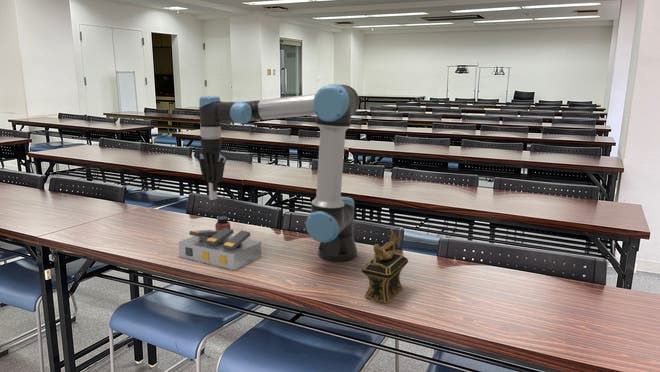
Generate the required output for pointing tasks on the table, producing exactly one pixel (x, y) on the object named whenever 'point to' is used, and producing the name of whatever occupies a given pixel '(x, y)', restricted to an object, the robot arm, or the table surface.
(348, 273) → the table surface
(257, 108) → the robot arm
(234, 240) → the switch
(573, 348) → the table surface
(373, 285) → the decorative box
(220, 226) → the supplement bottle
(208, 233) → the switch
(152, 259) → the table surface
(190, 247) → the console
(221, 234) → the switch
